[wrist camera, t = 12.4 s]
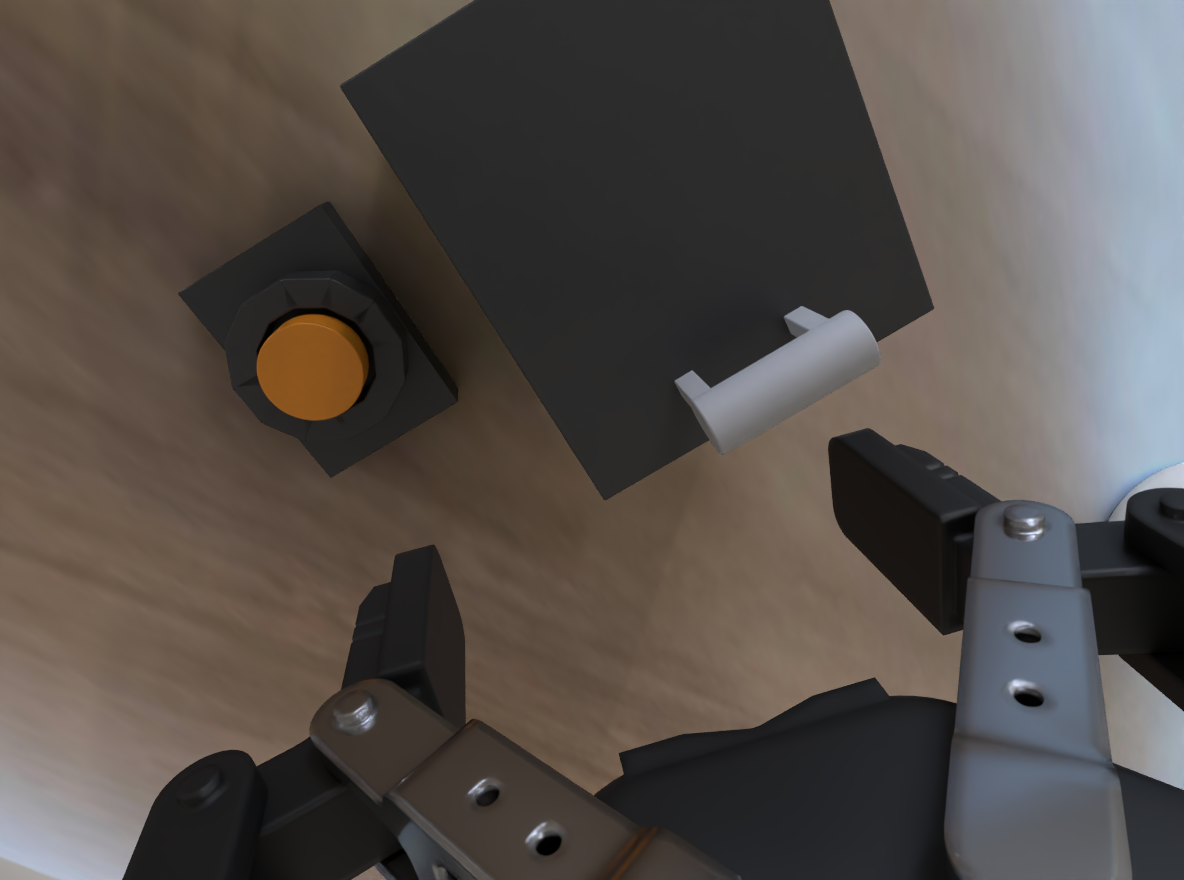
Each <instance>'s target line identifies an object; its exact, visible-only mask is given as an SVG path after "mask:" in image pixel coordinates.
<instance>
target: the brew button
mask: <svg viewBox="0 0 1184 880" xmlns="http://www.w3.org/2000/svg"><path fill="white" fill-rule="evenodd" d="M368 370H369V359H368V354H367V351H366V348H365V346H364V343H363V342H362V340H361V338H360V337H359V336H358V334H357V333H356V332H355V331H354V330H353V329H352V328H351V327H350V326H348V325H347V324H345V323H344V322H342V321H340V320H339V319H336V318H334V317H331V316H327V315H323V314H304V315H300V316H297V317H294V318H292V319H290V320H288V321H286V322H285V323H283V324H282V325H281V326H280V327H279V328H278V329H277V330H276V331H275V332H274V333H273V334H272V335H271V336H270V337H269V338H268V339H267V340H266V341H265V343H264V344H263V346H262V347H261V349H260V352H259V355H258V359H257V376H258V380H259V383H260V385H261V388H262V390H263V391H264V393H265V395H266V396H267V397H268V399H269V400H270V401H271V402H272V403H273V404H274V405H275V406H276V407H278V408H279V409H280V410H282V411H283V412H285V413H287V414H289V415H291V416H294V417H296V418H300V419H304V420H316V421H318V420H326V419H330V418H333V417H336V416H338V415H340V414H342V413H344V412H345V411H347V410H348V409H349V408H350V407H351V406H352V405H353V404H354V403H355V402H356V400H357V399H358V397H359V395H360V393H361V391H362V388H363V386H364V383H365V381H366V379H367V375H368Z"/></svg>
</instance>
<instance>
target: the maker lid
mask: <svg viewBox="0 0 1184 880" xmlns="http://www.w3.org/2000/svg"><path fill="white" fill-rule="evenodd" d="M340 87H341V89H342V91H343V93H344V94H345V96H346V97H347V99H348V100H349V102H350V104H351V105H352V107H353V108H354V110H355V111H356V113H357V114H358V116H359V118H360V119H361V121H362V122H363V124H364V125H365V127H366V129H367V130H368V132H369V133H370V135H371V136H372V138H373V139H374V141H375V143H376V144H377V146H378V147H379V149H380V150H381V152H382V154H383V155H384V157H385V158H386V160H387V161H388V163H389V164H390V166H391V168H392V169H393V171H394V172H395V174H396V175H397V177H398V179H399V180H400V182H401V183H402V185H403V186H404V188H405V190H406V191H407V193H408V194H409V196H410V197H411V199H412V200H413V202H414V204H415V205H416V207H417V208H418V210H419V211H420V213H421V215H422V216H423V218H424V219H425V221H426V222H427V224H428V225H429V227H430V229H431V230H432V232H433V233H434V235H435V236H436V238H437V240H438V241H439V243H440V244H441V246H442V247H443V249H444V250H445V252H446V254H447V255H448V257H449V258H450V260H451V261H452V263H453V265H454V266H455V268H456V269H457V271H458V272H459V274H460V275H461V277H462V279H463V280H464V282H465V283H466V285H467V286H468V288H469V290H470V291H471V293H472V294H473V296H474V297H475V299H476V300H477V302H478V304H479V305H480V307H481V308H482V310H483V311H484V313H485V315H486V316H487V318H488V319H489V321H490V322H491V324H492V326H493V327H494V329H495V330H496V332H497V333H498V335H499V336H500V338H501V340H502V341H503V343H504V344H505V346H506V347H507V349H508V351H509V352H510V354H511V355H512V357H513V358H514V360H515V361H516V363H517V365H518V366H519V368H520V369H521V371H522V372H523V374H524V376H525V377H526V379H527V380H528V382H529V383H530V385H531V386H532V388H533V390H534V391H535V393H536V394H537V396H538V397H539V399H540V401H541V402H542V404H543V405H544V407H545V408H546V410H547V411H548V413H549V415H550V416H551V418H552V419H553V421H554V422H555V424H556V426H557V427H558V429H559V430H560V432H561V433H562V435H563V437H564V438H565V440H566V441H567V443H568V444H569V446H570V447H571V449H572V451H573V452H574V454H575V455H576V457H577V458H578V460H579V462H580V463H581V465H582V466H583V468H584V469H585V471H586V472H587V474H588V476H589V477H590V479H591V480H592V482H593V483H594V485H595V487H596V488H597V490H598V491H599V493H600V494H601V496H602V497H603V499H604V500H607V499H609V498H610V497H612V496H614V495H615V494H617V493H619V492H621V491H622V490H624V489H626V488H627V487H629V486H631V485H633V484H634V483H636V482H638V481H640V480H641V479H643V478H645V477H646V476H648V475H650V474H652V473H653V472H655V471H657V470H658V469H660V468H662V467H664V466H665V465H667V464H669V463H670V462H672V461H674V460H676V459H677V458H679V457H681V456H682V455H684V454H686V453H688V452H689V451H691V450H693V449H694V448H696V447H698V446H700V445H701V444H703V443H705V442H706V441H708V440H710V441H711V443H712V444H713V446H714V447H715V449H716V450H717V451H718V452H719V453H720V454H721V455H725V454H727V453H728V452H730V451H732V450H734V449H735V448H737V447H739V446H741V445H742V444H744V443H746V442H747V441H749V440H751V439H753V438H754V437H756V436H758V435H759V434H761V433H763V432H765V431H766V430H768V429H770V428H772V427H773V426H775V425H777V424H778V423H780V422H782V421H784V420H785V419H787V418H789V417H790V416H792V415H794V414H796V413H797V412H799V411H801V410H803V409H804V408H806V407H808V406H809V405H811V404H813V403H815V402H816V401H818V400H820V399H821V398H823V397H825V396H827V395H828V394H830V393H832V392H834V391H835V390H837V389H839V388H840V387H842V386H844V385H846V384H847V383H849V382H851V381H852V380H854V379H856V378H858V377H859V376H861V375H863V374H865V373H866V372H868V371H870V370H871V369H873V368H875V367H877V366H878V365H879V363H880V360H881V356H880V351H879V348H878V345H877V343H876V342H878V341H880V340H882V339H883V338H885V337H887V336H888V335H890V334H892V333H894V332H895V331H897V330H899V329H900V328H902V327H904V326H906V325H907V324H909V323H911V322H912V321H914V320H916V319H918V318H919V317H921V316H923V315H924V314H926V313H928V312H930V311H931V310H933V309H934V306H933V303H932V300H931V297H930V294H929V291H928V288H927V285H926V282H925V280H924V277H923V274H922V271H921V268H920V265H919V262H918V259H917V256H916V253H915V250H914V247H913V244H912V241H911V238H910V236H909V233H908V230H907V227H906V224H905V221H904V218H903V215H902V212H901V209H900V206H899V203H898V200H897V197H896V195H895V192H894V189H893V186H892V183H891V180H890V177H889V174H888V171H887V168H886V165H885V162H884V159H883V156H882V153H881V151H880V148H879V145H878V142H877V139H876V136H875V133H874V130H873V127H872V124H871V121H870V118H869V115H868V112H867V110H866V107H865V104H864V101H863V98H862V95H861V92H860V89H859V86H858V83H857V80H856V77H855V74H854V71H853V68H852V66H851V63H850V60H849V57H848V54H847V51H846V48H845V45H844V42H843V39H842V36H841V33H840V30H839V27H838V25H837V22H836V19H835V16H834V13H833V10H832V7H831V4H830V1H829V0H474V1H472V2H471V3H469V4H468V5H466V6H465V7H463V8H461V9H460V10H458V11H457V12H455V13H453V14H452V15H450V16H449V17H447V18H446V19H444V20H442V21H441V22H439V23H438V24H436V25H435V26H433V27H431V28H430V29H428V30H427V31H425V32H423V33H422V34H420V35H419V36H417V37H416V38H414V39H412V40H411V41H409V42H408V43H406V44H404V45H403V46H401V47H400V48H398V49H397V50H395V51H393V52H392V53H390V54H389V55H387V56H385V57H384V58H382V59H381V60H379V61H378V62H376V63H374V64H373V65H371V66H370V67H368V68H367V69H365V70H363V71H362V72H360V73H359V74H357V75H355V76H354V77H352V78H351V79H349V80H348V81H346V82H344V83H343V84H341V86H340Z"/></svg>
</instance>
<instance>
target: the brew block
mask: <svg viewBox="0 0 1184 880" xmlns="http://www.w3.org/2000/svg"><path fill="white" fill-rule="evenodd" d="M178 294H179V296H180V297H181V298H182V299H183V301H184V302H185V303H186V304H187V305H188V307H189V308H190V309H191V310H192V311H193V313H194V314H195V315H196V316H197V317H198V319H199V320H200V321H201V322H202V323H203V325H204V326H205V327H206V328H207V329H208V331H209V332H210V333H211V334H212V335H213V337H214V338H215V339H216V340H217V342H218V343H219V344H220V345H221V346H222V348H223V349H224V350H225V351H226V356H227V362H228V367H229V373H230V378H231V384H232V387H233V389H234V391H235V392H236V393H237V394H238V395H239V397H240V398H241V399H242V400H243V401H244V402H245V404H246V405H247V406H248V407H249V408H250V410H251V411H252V412H253V413H254V414H255V415H256V417H257V418H258V419H259V420H260V421H261V423H264V424H265V425H267V426H270V427H272V428H274V429H277V430H279V431H281V432H284V433H286V434H288V435H291V436H293V437H295V438H298V439H299V440H300V442H301V443H302V444H303V445H304V446H305V448H306V449H307V450H308V451H309V452H310V454H311V455H312V456H313V457H314V458H315V460H316V461H317V462H318V463H319V464H320V466H321V467H322V468H323V469H324V470H325V472H326V473H327V474H328V475H329V477H333V476H335V475H336V474H338V473H340V472H341V471H343V470H345V469H346V468H348V467H350V466H351V465H353V464H355V463H356V462H358V461H360V460H361V459H363V458H365V457H366V456H368V455H370V454H371V453H373V452H375V451H376V450H378V449H380V448H381V447H383V446H385V445H386V444H388V443H390V442H391V441H393V440H395V439H396V438H398V437H400V436H401V435H403V434H405V433H406V432H408V431H410V430H411V429H413V428H415V427H416V426H418V425H420V424H421V423H423V422H425V421H426V420H428V419H430V418H431V417H433V416H435V415H436V414H438V413H440V412H441V411H443V410H445V409H446V408H448V407H450V406H451V405H453V404H455V403H456V402H458V387H457V386H456V384H455V383H454V381H453V380H452V379H451V377H450V376H449V374H448V373H447V371H446V370H445V368H444V367H443V366H442V364H441V363H440V361H439V360H438V358H437V357H436V355H435V354H434V353H433V351H432V350H431V348H430V347H429V345H428V344H427V342H426V341H425V339H424V338H423V337H422V335H421V334H420V332H419V331H418V329H417V328H416V326H415V325H414V324H413V322H412V321H411V319H410V318H409V316H408V315H407V313H406V312H405V311H404V309H403V308H402V306H401V305H400V303H399V302H398V300H397V299H396V297H395V296H394V295H393V293H392V292H391V290H390V289H389V287H388V286H387V284H386V283H385V282H384V280H383V279H382V277H381V276H380V274H379V273H378V271H377V270H376V269H375V267H374V266H373V264H372V263H371V261H370V260H369V258H368V257H367V255H366V254H365V253H364V251H363V250H362V248H361V247H360V245H359V244H358V242H357V241H356V240H355V238H354V237H353V235H352V234H351V232H350V231H349V229H348V228H347V227H346V225H345V224H344V222H343V221H342V219H341V218H340V216H339V215H338V213H337V212H336V211H335V209H334V208H333V206H332V205H331V203H330V202H326V203H323V204H321V205H319V206H317V207H316V208H314V209H312V210H311V211H309V212H308V213H306V214H304V215H303V216H301V217H300V218H298V219H296V220H295V221H293V222H292V223H290V224H288V225H287V226H285V227H284V228H282V229H280V230H279V231H277V232H276V233H274V234H272V235H271V236H269V237H268V238H266V239H264V240H263V241H261V242H259V243H258V244H256V245H255V246H253V247H251V248H250V249H248V250H247V251H245V252H243V253H242V254H240V255H239V256H237V257H235V258H234V259H232V260H231V261H229V262H227V263H226V264H224V265H223V266H221V267H219V268H218V269H216V270H215V271H213V272H211V273H210V274H208V275H207V276H205V277H203V278H202V279H200V280H198V281H197V282H195V283H194V284H192V285H190V286H189V287H187V288H186V289H184V290H182V291H181V292H179V293H178ZM304 314H323V315H327V316H331V317H334V318H336V319H339V320H340V321H342V322H344V323H345V324H347V325H348V326H350V327H351V328H352V329H353V330H354V331H355V332H356V333H357V334H358V336H359V337H360V338H361V340H362V342H363V343H364V346H365V348H366V351H367V354H368V359H369V370H368V375H367V379H366V381H365V383H364V386H363V388H362V391H361V393H360V395H359V397H358V399H357V400H356V402H355V403H354V404H353V405H352V406H351V407H350V408H349V409H348V410H347V411H345V412H344V413H342V414H340V415H338V416H336V417H333V418H330V419H326V420H318V421H316V420H304V419H300V418H296V417H294V416H291V415H289V414H287V413H285V412H283V411H282V410H280V409H279V408H278V407H276V406H275V405H274V404H273V403H272V402H271V401H270V400H269V399H268V397H267V396H266V395H265V393H264V391H263V390H262V388H261V385H260V383H259V380H258V376H257V359H258V355H259V352H260V349H261V347H262V346H263V344H264V343H265V341H266V340H267V339H268V338H269V337H270V336H271V335H272V334H273V333H274V332H275V331H276V330H277V329H278V328H279V327H280V326H281V325H282V324H283V323H285V322H286V321H288V320H290V319H292V318H294V317H297V316H300V315H304Z"/></svg>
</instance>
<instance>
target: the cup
mask: <svg viewBox="0 0 1184 880" xmlns="http://www.w3.org/2000/svg"><path fill="white" fill-rule="evenodd" d="M1154 488H1184V463H1180V464H1177V465H1174V466H1170V467H1167V468H1165V469H1163V470H1160V471H1158V472H1157V473H1155V474H1153V475H1151V476H1150V477H1148V478H1146V479H1145V480H1144V481H1142V482H1141V483H1139V484H1138V485H1137V486H1136V487H1135V488H1133V489H1132V490H1131V491H1130V492H1129V493H1128V494H1127V495H1126V496H1125V497H1124V498H1123V499H1122V501H1121V502H1120V503H1119V504H1118V506H1117V507H1116V508H1115V510H1114V511H1113V513H1112V515H1111V516H1110V518H1109V520H1108V522H1110V521H1123V520H1125V514H1126V505H1127V501H1128V500H1129V498H1130V497H1131V496H1133V495H1134V494H1136V493H1138V492H1141V491H1144V490H1148V489H1154Z"/></svg>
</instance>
